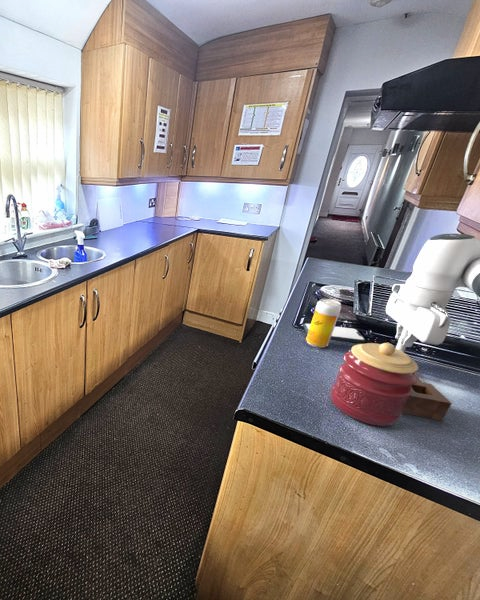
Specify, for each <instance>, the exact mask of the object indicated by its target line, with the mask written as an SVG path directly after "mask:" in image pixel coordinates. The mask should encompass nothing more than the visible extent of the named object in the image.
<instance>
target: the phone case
mask: <svg viewBox="0 0 480 600" xmlns="http://www.w3.org/2000/svg"><path fill="white" fill-rule="evenodd" d="M310 325H311V323H309V322H308V323H307V322H306V323H303V326H302V327H303V329H304V330H305V332H306V334H308V331H309V328H310ZM330 340H334V341H339V342H341V341H342V342H346V343H347V342H348V343H355V344H366V343H365V342H366V338H365V337H364V336H363V335H362V334H361V333H360V332H359V330H358V329H356V328H352V327H345V326H343V327H342V326H335V327H334V330H333V333H332V336H331V339H330Z"/></svg>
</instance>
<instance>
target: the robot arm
mask: <svg viewBox="0 0 480 600" xmlns="http://www.w3.org/2000/svg"><path fill="white" fill-rule="evenodd" d="M457 288H466V289H468V290H470V291H471V292H473V293H474V294H476V296H477V297H479V298H480V240H478V238H477V237H476V236H474V235H471V234H467V233H442V234H436V235H434V236H432V237H430V238H428V239H427V241H425V243H424V244H423V246H422V248H421V249H420V251H419V253H418V255H417V256H416V259H415V260H414V263H413V266H412V272H411V274H410V276H409V277H408V278H407V279H406V280H405V283H394V284H393V285H392V288H391V291H392V292H391V294H390V295H389V298H388V301H387V303H386V306H385V314H386V315H387V316H389V317H390V318H391V319H392V320H394V321H395V322H396V323H397V324H396V334H395V337H394V338H395V339H396V340H397V342H398V341H399V339H400V336H401V334H402V331H403V328H405V329H406V330H408V336H407V337H406V338H403V339H402V341H401V344H402V345H404V346H405V347H406V348H412V347H413V345H414V343H415V342H416V341H418V340H419V341H420V342H421V343H423V344H427V345H434V346H439V345H441V344H442V343H444V341H445V339H446V336H447V334H448V331H449V329H450V326H451V317H450V314H449V313H448V312H449V310H448V309H447V306H448V304H449V302H450V301H451V298H452V296H453V294H454V293H455V291H456V289H457Z"/></svg>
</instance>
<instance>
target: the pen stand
mask: <svg viewBox="0 0 480 600" xmlns="http://www.w3.org/2000/svg"><path fill="white" fill-rule="evenodd" d="M412 389H413V392H412V394H411V395H410V396H409V398H408V400H407V402H406V404H405V406H404V408H403V410H402V414H406V415H411V416H415V417H419V418H420V417H421V418H426V419H430V420H436V421H441V422H443V420H444V418H445V416H446V414H447V413H448V411H449V410H450V408H451V406H452V404H453V403H452V402H451V401H450V400H449V399H448V398H447V397H446V396H445V395H444V394H443V393H441V391H439V390H438V388H436V387H435V386H434V385H433V384H432V383H430V382H429V383H428V382H425V383H423V382H417V383H416V384H413V385H412Z"/></svg>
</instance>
